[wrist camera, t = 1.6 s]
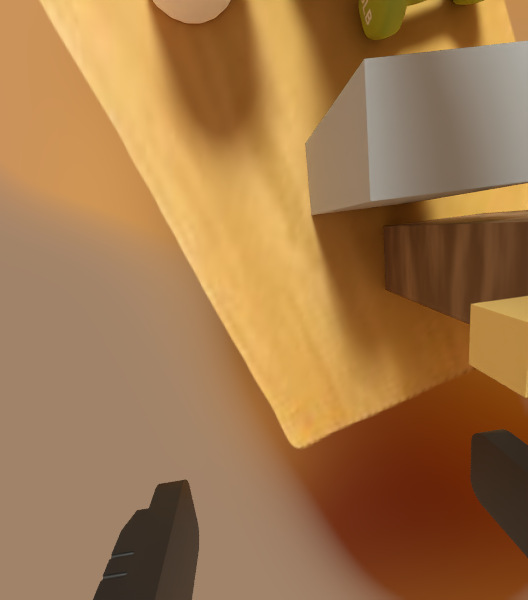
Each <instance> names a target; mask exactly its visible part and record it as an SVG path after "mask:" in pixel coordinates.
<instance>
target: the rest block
mask: <svg viewBox="0 0 528 600" xmlns="http://www.w3.org/2000/svg"><path fill="white" fill-rule="evenodd" d="M305 146H306V157H307V169H308V181H309V192H310V204H311V215H317V214H325V213H333V212H341V211H349V210H356V209H364V208H372V207H380V206H388V205H396V204H404V203H411V202H418V201H424V200H430V199H436V198H442V197H448V196H454V195H459V194H465V193H471V192H477V191H483V190H489V189H495V188H501V187H507V186H512V185H518V184H524V183H528V41H522V42H512V43H503V44H494V45H485V46H476V47H467V48H458V49H449V50H440V51H431V52H422V53H413V54H404V55H395V56H386V57H376V58H367V59H364V60H363V61H362V63H361V64H360V66H359V67H358V69H357V70H356V71H355V73H354V74H353V76H352V77H351V79H350V80H349V82H348V83H347V84H346V86H345V87H344V89H343V90H342V92H341V93H340V94H339V96H338V97H337V99H336V100H335V102H334V103H333V104H332V106H331V107H330V109H329V110H328V112H327V113H326V114H325V116H324V117H323V119H322V120H321V122H320V123H319V124H318V126H317V127H316V129H315V130H314V132H313V133H312V135H311V136H310V137H309V139H308V140H307V142H306V143H305Z"/></svg>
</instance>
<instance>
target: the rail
mask: <svg viewBox="0 0 528 600" xmlns="http://www.w3.org/2000/svg"><path fill="white" fill-rule="evenodd" d="M469 365H471V366H472V367H474V368H476V369H478V370H479V371H481V372H483V373H484V374H486V375H488V376H489V377H491V378H493V379H494V380H496V381H498V382H499V383H501V384H503V385H505V386H506V387H508V388H510V389H511V390H513V391H515V392H516V393H518V394H520V395H521V396H523V397H525V398H527V397H528V296H524V297H516V298H509V299H502V300H495V301H488V302H481V303H474V304H471V311H470V342H469Z"/></svg>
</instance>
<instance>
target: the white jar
mask: <svg viewBox="0 0 528 600" xmlns="http://www.w3.org/2000/svg"><path fill="white" fill-rule="evenodd" d="M230 1H231V0H153V2H154V3H155V5H156V6H157V7H158V8H160V9H161V10H162V11H163V12H165V13H166V14H167V15H168V16H170V17H171V18H173V19H176V20H179V21H181V22H184V23H197V24H201V23H204V22H206V21H209V20H212V19H214V18H216V17H217V16H218V15H219V14H220V13H221V12H222V11H224V10H225V9H226V8H227V6H228V4H229V3H230Z"/></svg>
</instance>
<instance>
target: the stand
mask: <svg viewBox="0 0 528 600" xmlns="http://www.w3.org/2000/svg"><path fill="white" fill-rule="evenodd" d="M384 255H385V284H386V290H388V291H390V292H393V293H395V294H398V295H400V296H402V297H405V298H407V299H410V300H412V301H414V302H417V303H419V304H422V305H424V306H427V307H429V308H431V309H434V310H436V311H439V312H441V313H443V314H446V315H448V316H451V317H453V318H456V319H458V320H460V321H463V322H465V323H468V324H470V311H471V304H474V303H481V302H488V301H495V300H502V299H509V298H516V297H524V296H528V210H524V211H510V212H496V213H483V214H475V215H468V216H460V217H452V218H445V219H437V220H429V221H422V222H414V223H406V224H398V225H391V226H384Z"/></svg>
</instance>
